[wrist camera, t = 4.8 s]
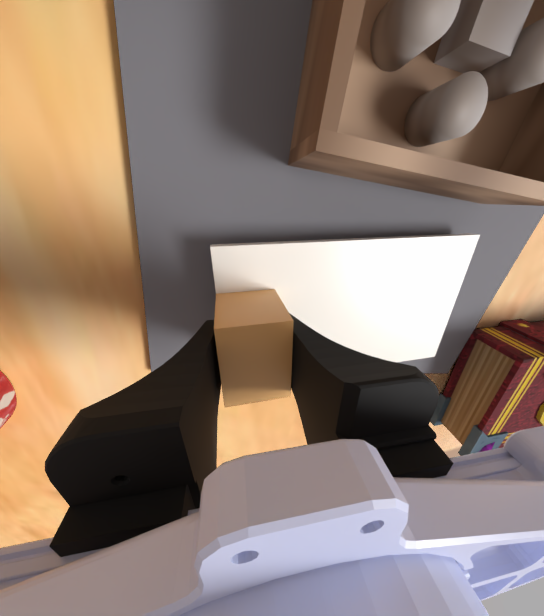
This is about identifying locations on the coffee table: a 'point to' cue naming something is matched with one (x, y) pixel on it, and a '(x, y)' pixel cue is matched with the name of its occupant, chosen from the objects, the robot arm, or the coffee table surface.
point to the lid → (330, 302)
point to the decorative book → (495, 386)
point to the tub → (426, 96)
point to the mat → (260, 166)
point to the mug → (6, 399)
